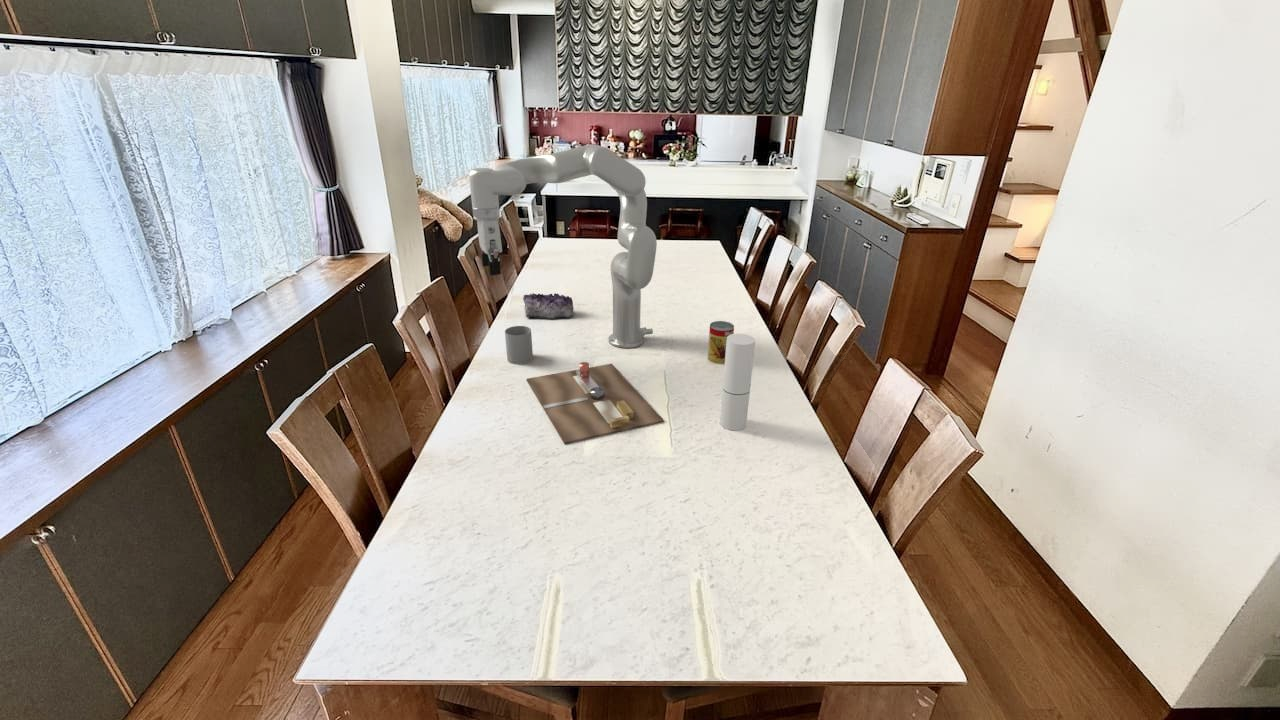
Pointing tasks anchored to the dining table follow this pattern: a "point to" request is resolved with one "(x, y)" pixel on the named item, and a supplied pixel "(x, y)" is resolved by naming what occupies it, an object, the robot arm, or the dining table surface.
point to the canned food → (719, 340)
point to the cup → (519, 344)
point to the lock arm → (589, 381)
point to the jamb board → (592, 404)
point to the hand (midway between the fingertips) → (491, 270)
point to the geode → (548, 306)
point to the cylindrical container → (737, 381)
